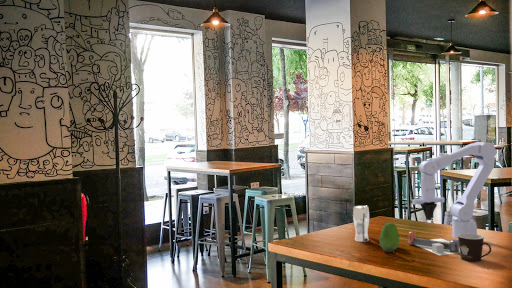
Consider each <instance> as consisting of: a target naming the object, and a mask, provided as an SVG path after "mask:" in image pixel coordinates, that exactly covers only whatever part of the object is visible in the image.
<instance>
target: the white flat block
mask: <svg viewBox="0 0 512 288" xmlns="http://www.w3.org/2000/svg"><path fill="white" fill-rule="evenodd" d="M431 240H434V241H441V242H447V243H449V240H446V239H444V238H435V239H431ZM415 246H417V247H419V248H421V249H423V250H425V251H428V252H430V253H433V254H436V255H438V256H445V255H446V256H447V255H455V254H460V252H450V250H445V249H444V248H443V245H442V244H440V243H435V244H432V247H427V246H421V245H415Z"/></svg>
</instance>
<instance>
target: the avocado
mask: <svg viewBox="0 0 512 288" xmlns="http://www.w3.org/2000/svg"><path fill="white" fill-rule="evenodd" d="M378 242H379V246H380V247H381V250H383V251H385V252H387V253H393V252H396V251H395V250H397V249H398V247H399V245H400V235H399V230H398V229H397V225H396V224H395V223H393V222H386V223H385V224H384V225H383V227H382V229H381V232H380V234H379V241H378Z"/></svg>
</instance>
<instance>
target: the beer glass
mask: <svg viewBox="0 0 512 288" xmlns="http://www.w3.org/2000/svg"><path fill="white" fill-rule="evenodd" d="M352 211H353V212H352V215H353V217H352V218H353V219H352V220H353V224H354V229H355V235H354V236H355V237H354V241H356V242H359V243H366V242H369V235H368V233H369V232H368V231H369V224H370V210H369V206H368V205H354V206H353V210H352Z"/></svg>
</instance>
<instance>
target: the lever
mask: <svg viewBox="0 0 512 288" xmlns="http://www.w3.org/2000/svg"><path fill="white" fill-rule="evenodd" d="M448 241H449V243H447V242H441V241H434V240H432V239H426V238H421V237H416V231H408V245H410V246H416V245H421V246H427V247H432V244H435V243H440V244H442V245H443V248H444V249H445V250H450V252H460V247H459V240H458V239H449V240H448Z"/></svg>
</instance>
